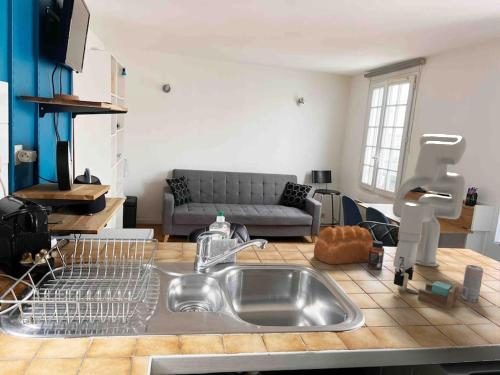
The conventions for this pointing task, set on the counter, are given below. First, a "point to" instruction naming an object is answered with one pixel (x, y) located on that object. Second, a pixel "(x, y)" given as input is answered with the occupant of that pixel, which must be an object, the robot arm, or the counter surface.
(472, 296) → the energy drink
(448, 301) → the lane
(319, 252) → the bread
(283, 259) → the counter surface
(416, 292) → the teal block with rod
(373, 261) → the supplement bottle
